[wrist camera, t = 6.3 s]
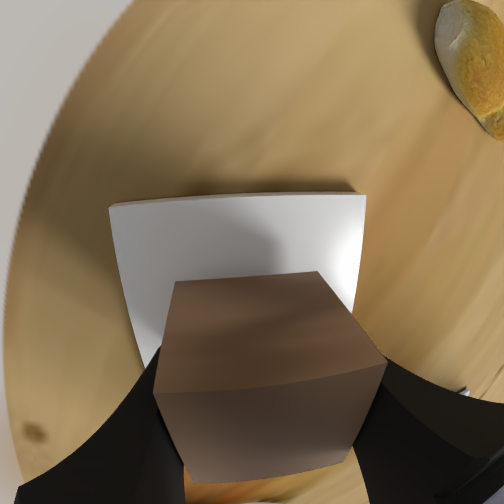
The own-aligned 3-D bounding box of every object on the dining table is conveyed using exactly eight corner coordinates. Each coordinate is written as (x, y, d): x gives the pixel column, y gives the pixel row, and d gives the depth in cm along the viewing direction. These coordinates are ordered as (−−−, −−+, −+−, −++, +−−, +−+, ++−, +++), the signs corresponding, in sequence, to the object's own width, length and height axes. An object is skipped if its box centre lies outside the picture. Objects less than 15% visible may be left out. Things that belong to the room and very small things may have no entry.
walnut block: (317, 270, 10) (387, 362, 5) (306, 371, 12) (343, 462, 7) (175, 281, 9) (152, 392, 5) (193, 382, 11) (194, 483, 7)
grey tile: (357, 192, 11) (366, 195, 11) (332, 369, 15) (337, 378, 14) (115, 203, 10) (108, 207, 10) (156, 386, 14) (155, 396, 13)
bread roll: (503, 159, 12) (548, 171, 8) (419, 76, 10) (477, 66, 6) (515, 70, 10) (553, 70, 6) (437, -15, 8) (478, -32, 4)
